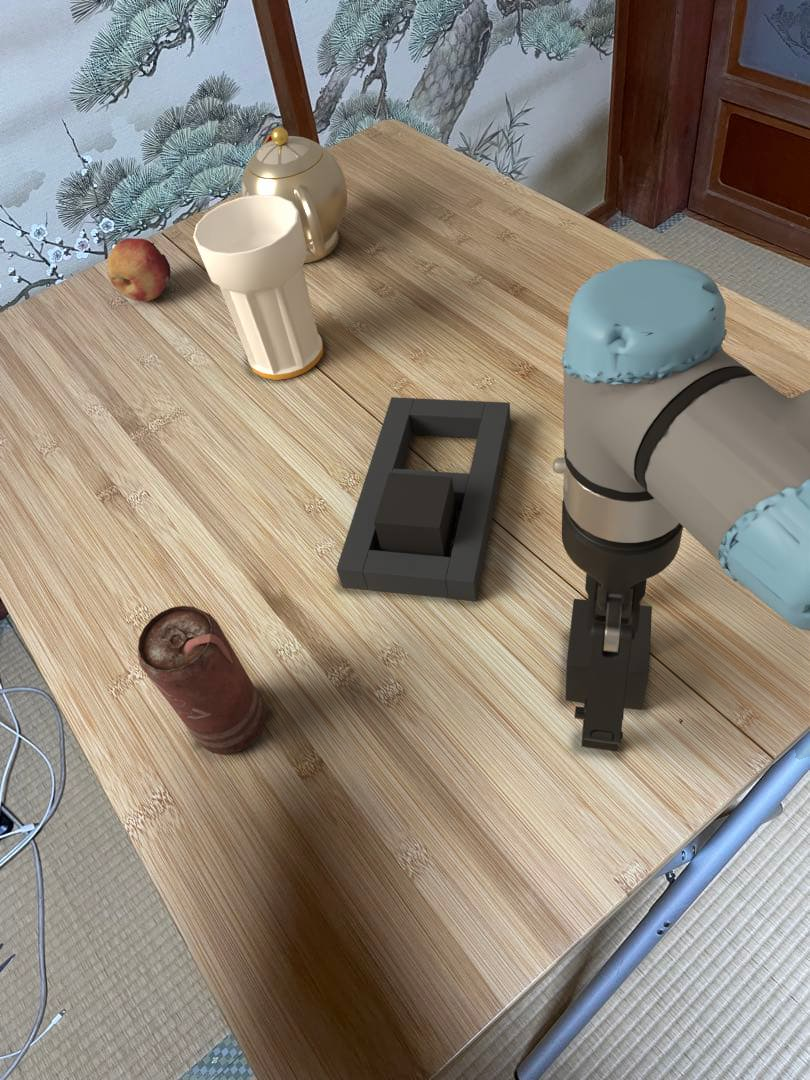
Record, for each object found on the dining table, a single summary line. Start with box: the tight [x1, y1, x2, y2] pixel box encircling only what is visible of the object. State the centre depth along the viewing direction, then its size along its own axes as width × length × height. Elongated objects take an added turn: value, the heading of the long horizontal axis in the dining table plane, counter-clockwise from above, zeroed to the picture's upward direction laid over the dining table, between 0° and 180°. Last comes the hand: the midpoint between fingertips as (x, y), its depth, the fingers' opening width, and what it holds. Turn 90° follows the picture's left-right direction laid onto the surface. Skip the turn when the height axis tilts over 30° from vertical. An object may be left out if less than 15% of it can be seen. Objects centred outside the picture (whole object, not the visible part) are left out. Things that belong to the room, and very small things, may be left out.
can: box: [137, 605, 267, 756], centre depth 65 cm, size 6×6×14 cm
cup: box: [192, 194, 324, 381], centre depth 93 cm, size 11×11×17 cm
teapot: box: [240, 126, 348, 264], centre depth 107 cm, size 18×14×16 cm
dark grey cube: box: [374, 473, 459, 557], centre depth 77 cm, size 6×6×6 cm
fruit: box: [106, 237, 172, 302], centre depth 109 cm, size 8×8×8 cm
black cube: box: [565, 598, 653, 711], centre depth 66 cm, size 6×6×6 cm
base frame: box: [336, 396, 512, 602], centre depth 82 cm, size 13×23×3 cm, turn 168°
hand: (605, 671), depth 68 cm, fingers open, 12 cm apart
